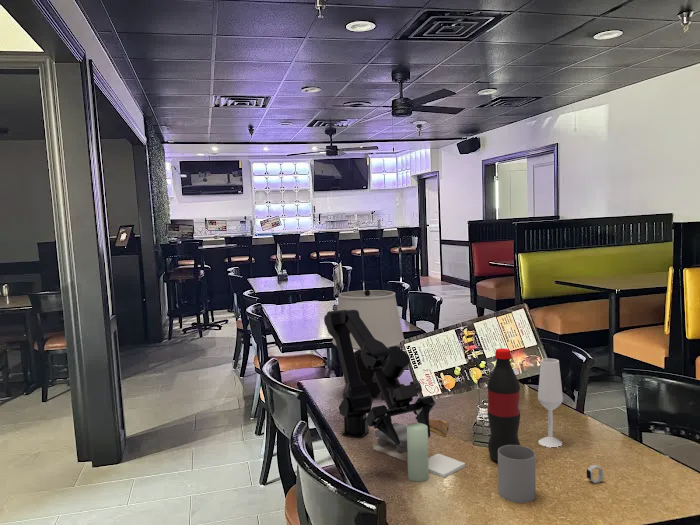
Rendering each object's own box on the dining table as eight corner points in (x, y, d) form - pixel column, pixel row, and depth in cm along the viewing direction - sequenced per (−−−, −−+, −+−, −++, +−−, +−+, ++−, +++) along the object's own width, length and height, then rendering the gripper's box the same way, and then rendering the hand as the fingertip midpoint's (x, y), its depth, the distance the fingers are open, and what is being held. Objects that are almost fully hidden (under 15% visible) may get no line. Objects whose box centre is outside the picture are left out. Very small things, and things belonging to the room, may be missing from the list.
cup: (493, 486, 130) (492, 445, 129) (526, 483, 130) (526, 443, 130) (506, 504, 121) (506, 461, 120) (541, 501, 122) (541, 458, 121)
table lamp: (319, 396, 203) (315, 291, 200) (370, 380, 221) (367, 284, 218) (369, 412, 183) (366, 296, 180) (420, 394, 201) (418, 288, 199)
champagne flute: (566, 442, 154) (566, 359, 152) (557, 449, 149) (557, 364, 147) (544, 436, 158) (543, 356, 157) (534, 443, 153) (533, 361, 152)
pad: (416, 466, 141) (416, 463, 141) (438, 456, 147) (438, 453, 147) (443, 477, 134) (443, 474, 134) (465, 466, 140) (465, 463, 140)
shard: (445, 439, 160) (445, 433, 160) (420, 437, 162) (419, 431, 162) (449, 425, 170) (449, 420, 170) (425, 424, 173) (425, 418, 172)
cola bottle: (521, 454, 147) (520, 346, 145) (520, 467, 139) (519, 353, 137) (489, 450, 150) (487, 344, 148) (486, 463, 142) (485, 352, 140)
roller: (405, 479, 134) (404, 429, 133) (411, 470, 139) (410, 421, 138) (425, 483, 132) (424, 431, 131) (430, 473, 137) (429, 424, 136)
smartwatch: (600, 479, 131) (600, 463, 131) (605, 483, 129) (605, 467, 129) (586, 480, 131) (586, 464, 131) (591, 484, 129) (590, 468, 129)
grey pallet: (372, 448, 153) (372, 431, 153) (395, 438, 160) (395, 421, 160) (405, 461, 145) (404, 442, 144) (427, 449, 152) (427, 431, 151)
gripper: (369, 376, 136) (394, 433, 127) (430, 366, 144) (457, 418, 135) (356, 399, 143) (378, 454, 134) (414, 387, 152) (439, 438, 142)
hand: (414, 440), depth 136 cm, fingers open, 9 cm apart
